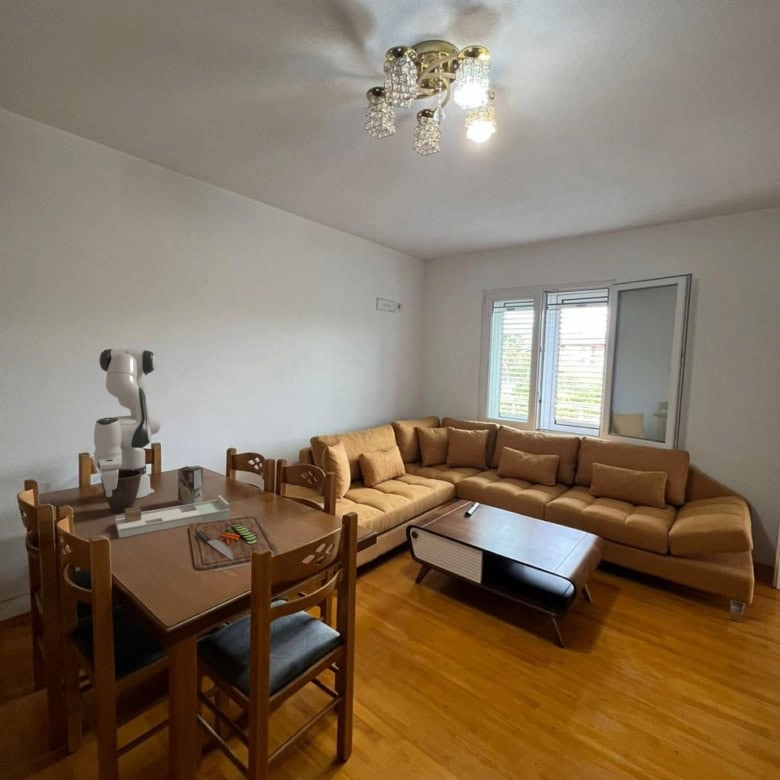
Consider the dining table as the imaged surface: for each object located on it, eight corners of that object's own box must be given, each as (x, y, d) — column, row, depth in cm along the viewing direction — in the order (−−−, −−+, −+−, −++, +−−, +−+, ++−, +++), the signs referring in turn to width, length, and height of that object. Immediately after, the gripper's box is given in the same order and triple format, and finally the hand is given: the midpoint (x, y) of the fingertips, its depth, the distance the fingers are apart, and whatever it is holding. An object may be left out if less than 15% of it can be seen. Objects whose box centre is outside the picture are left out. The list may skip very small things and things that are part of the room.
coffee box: (203, 500, 198) (203, 467, 197) (194, 505, 192) (194, 470, 191) (186, 498, 200) (187, 465, 199) (177, 503, 194) (177, 469, 193)
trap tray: (115, 524, 168) (115, 510, 167) (219, 506, 192) (219, 494, 192) (119, 538, 155) (119, 523, 155) (229, 516, 180) (229, 504, 179)
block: (124, 518, 167) (124, 508, 167) (139, 516, 171) (139, 506, 170) (126, 522, 164) (126, 512, 163) (141, 520, 167) (141, 510, 166)
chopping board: (281, 560, 144) (281, 551, 144) (196, 577, 131) (196, 567, 131) (255, 515, 183) (256, 509, 183) (188, 525, 170) (188, 518, 170)
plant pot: (102, 519, 172) (102, 480, 171) (99, 508, 184) (98, 472, 183) (144, 511, 182) (144, 475, 181) (138, 502, 193) (138, 468, 192)
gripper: (96, 456, 167) (97, 490, 167) (100, 466, 151) (100, 504, 151) (115, 454, 171) (116, 488, 171) (120, 464, 154) (121, 501, 155)
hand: (108, 495), depth 161 cm, fingers closed
